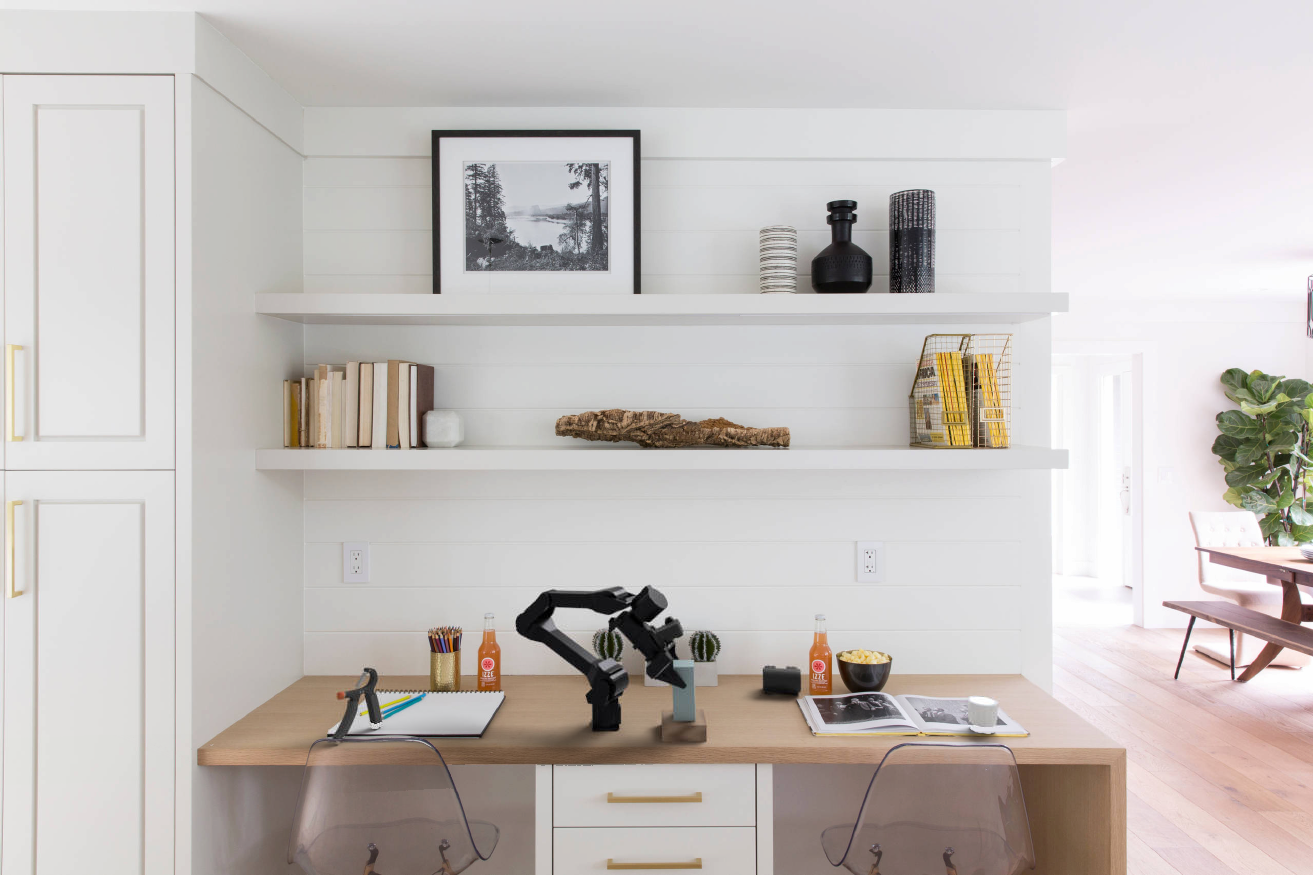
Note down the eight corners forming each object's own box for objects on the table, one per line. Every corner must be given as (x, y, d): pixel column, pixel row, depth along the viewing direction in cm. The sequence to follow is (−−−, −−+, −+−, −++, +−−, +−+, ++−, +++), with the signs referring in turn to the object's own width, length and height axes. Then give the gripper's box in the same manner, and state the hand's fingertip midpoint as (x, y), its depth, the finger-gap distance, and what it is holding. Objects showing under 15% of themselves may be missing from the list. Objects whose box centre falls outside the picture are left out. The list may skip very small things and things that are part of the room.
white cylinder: (999, 727, 178) (1000, 698, 178) (996, 737, 172) (996, 707, 172) (968, 722, 181) (968, 693, 181) (964, 731, 175) (964, 701, 175)
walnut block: (662, 743, 170) (662, 725, 170) (661, 726, 180) (661, 709, 180) (706, 742, 170) (706, 725, 170) (703, 725, 180) (703, 709, 180)
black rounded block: (762, 696, 199) (762, 671, 199) (762, 687, 206) (762, 663, 206) (801, 698, 198) (801, 672, 198) (799, 689, 205) (799, 664, 205)
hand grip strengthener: (330, 744, 169) (330, 677, 168) (376, 726, 179) (376, 663, 179) (336, 746, 167) (336, 679, 167) (383, 728, 178) (383, 664, 178)
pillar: (673, 720, 173) (671, 667, 173) (674, 712, 178) (672, 659, 178) (695, 720, 173) (693, 666, 172) (695, 712, 178) (693, 659, 177)
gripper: (660, 618, 166) (710, 669, 166) (665, 599, 185) (710, 645, 184) (625, 653, 167) (675, 704, 166) (633, 631, 185) (677, 677, 185)
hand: (685, 680), depth 175 cm, fingers open, 9 cm apart
